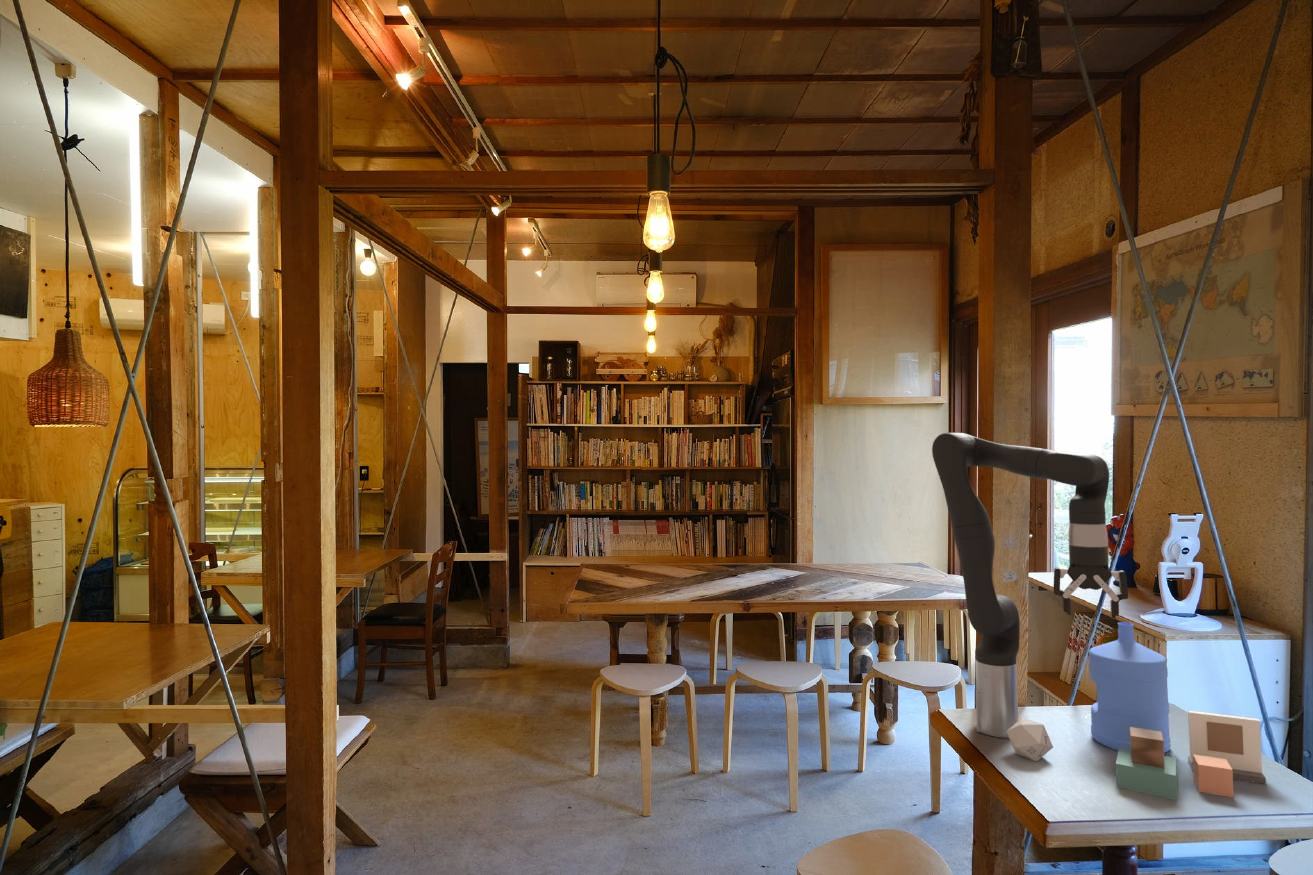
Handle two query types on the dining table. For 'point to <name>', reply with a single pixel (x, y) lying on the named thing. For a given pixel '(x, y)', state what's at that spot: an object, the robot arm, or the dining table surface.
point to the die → (1029, 739)
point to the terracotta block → (1213, 775)
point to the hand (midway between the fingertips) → (1090, 616)
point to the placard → (1228, 742)
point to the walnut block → (1147, 747)
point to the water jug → (1128, 690)
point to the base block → (1146, 775)
